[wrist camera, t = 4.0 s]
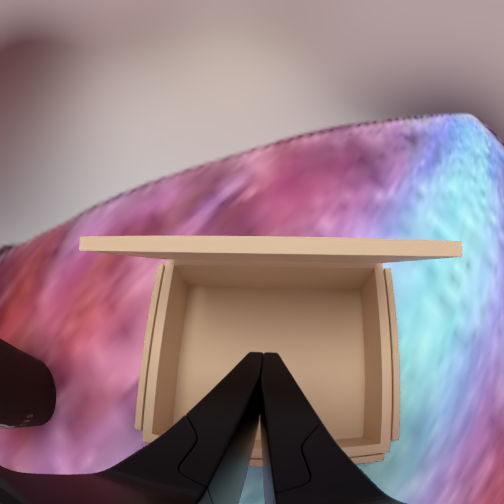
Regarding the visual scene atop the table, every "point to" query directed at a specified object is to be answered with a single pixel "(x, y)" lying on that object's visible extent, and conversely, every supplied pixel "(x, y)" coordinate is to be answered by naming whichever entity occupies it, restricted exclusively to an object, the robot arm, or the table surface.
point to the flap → (272, 248)
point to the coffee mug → (24, 389)
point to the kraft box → (276, 343)
